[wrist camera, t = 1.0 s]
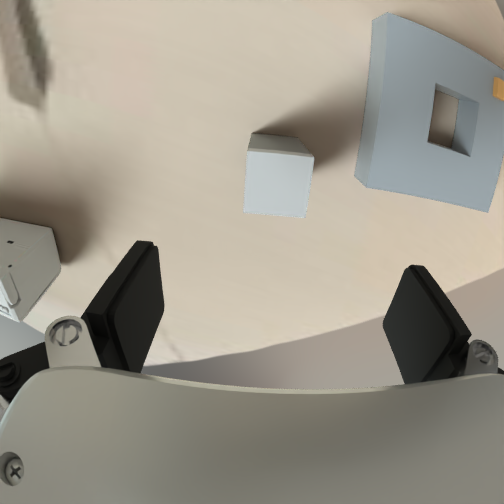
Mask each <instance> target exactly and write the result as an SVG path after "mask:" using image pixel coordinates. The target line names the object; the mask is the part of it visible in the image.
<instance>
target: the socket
mask: <svg viewBox="0 0 504 504" xmlns="http://www.w3.org/2000/svg"><path fill="white" fill-rule="evenodd" d="M435 89H436V90H438V91H441V92H443V93H446V94H448V95H450V96H453V97H455V98H457V99H459V104H458V112H457V119H456V125H455V131H454V137H453V142H452V147H451V148H448V147H445V146H442V145H439V144H436V143H433V142H429V141H428V135H429V129H430V123H431V116H432V109H433V102H434V94H435ZM503 155H504V70H503V69H501V68H500V67H498V66H497V65H495V64H494V63H492V62H491V61H489V60H487V59H486V58H484V57H483V56H481V55H479V54H478V53H476V52H474V51H472V50H471V49H469V48H467V47H465V46H464V45H462V44H460V43H458V42H456V41H454V40H452V39H450V38H448V37H446V36H444V35H442V34H440V33H438V32H436V31H434V30H431V29H429V28H427V27H425V26H422V25H420V24H417V23H415V22H413V21H410V20H407V19H405V18H402V17H399V16H397V15H394V14H391V13H388V12H387V13H385V14H383V15H381V16H379V17H378V18H376V19H374V20H372V39H371V54H370V66H369V77H368V86H367V95H366V103H365V111H364V119H363V126H362V133H361V139H360V145H359V151H358V157H357V163H356V169H355V174H354V176H355V177H356V178H357V179H358V180H359V181H360V182H361V183H362V184H363V185H364V186H365V187H366V188H372V189H378V190H384V191H390V192H396V193H401V194H407V195H412V196H417V197H422V198H427V199H432V200H436V201H441V202H446V203H450V204H454V205H459V206H463V207H467V208H471V209H475V210H479V211H483V212H487V213H488V211H489V208H490V205H491V202H492V198H493V195H494V191H495V188H496V184H497V180H498V176H499V172H500V168H501V164H502V159H503Z"/></svg>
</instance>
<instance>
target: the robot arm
mask: <svg viewBox="0 0 504 504" xmlns="http://www.w3.org/2000/svg"><path fill="white" fill-rule="evenodd" d="M163 313H164V298H163V290H162V281H161V272H160V262H159V252H158V247H157V246H154V244H153V242H150V241H136V242H135V243H134V245H133V246H132V247H131V249H130V250H129V251H128V253H127V254H126V255H125V256H124V258H123V259H122V260H121V262H120V263H119V264H118V266H117V267H116V269H115V270H114V271H113V273H112V274H111V275H110V276H109V277H108V279H107V280H106V281H105V283H104V284H103V286H102V287H101V288H100V290H99V291H98V293H97V294H96V296H95V297H94V298H93V300H92V301H91V303H90V304H89V306H88V307H87V309H86V310H85V312H84V313H83V315H82V316H81V318H79V317H76V316H64V317H61V318H59V319H56V320H55V321H54V322H52V323H51V324H50V325H49V326H48V328H47V330H46V332H45V342H43V343H40V344H37V345H35V346H32V347H30V348H27V349H25V350H22V351H19V352H17V353H14V354H12V355H9V356H7V357H4V358H3V359H1V360H0V504H504V371H503V370H502V369H500V368H498V356H497V354H496V352H495V350H494V349H493V348H492V347H491V345H489V344H488V343H487V342H485V341H482V340H473V341H472V342H471V343H470V344H469V343H468V342H467V341H468V339H469V338H470V336H471V335H472V334H471V332H470V331H469V329H468V328H467V326H466V324H465V323H464V321H463V320H462V318H461V317H460V315H459V314H458V312H457V311H456V309H455V308H454V306H453V305H452V303H451V302H450V300H449V299H448V298H447V296H446V295H445V293H444V292H443V291H442V289H441V288H440V286H439V285H438V284H437V282H436V281H435V280H434V278H433V277H432V276H431V274H430V273H429V272H428V270H427V269H426V268H425V267H424V266H420V265H410V266H409V267H408V268H406V269H405V270H404V273H403V275H402V278H401V280H400V283H399V285H398V288H397V290H396V293H395V295H394V297H393V300H392V302H391V304H390V307H389V309H388V311H387V313H386V316H385V318H384V320H383V329H384V331H385V333H386V336H387V338H388V341H389V343H390V346H391V349H392V351H393V353H394V356H395V359H396V361H397V364H398V367H399V369H400V372H401V375H402V378H403V380H404V383H405V384H404V385H395V386H385V387H384V386H383V387H371V388H354V389H320V390H319V389H316V390H306V389H305V390H304V389H299V390H298V389H269V388H251V387H238V386H227V385H217V384H208V383H200V382H192V381H185V380H177V379H171V378H164V377H158V376H152V375H146V374H141V370H142V367H143V365H144V362H145V359H146V357H147V354H148V351H149V349H150V346H151V343H152V341H153V338H154V336H155V333H156V330H157V328H158V325H159V323H160V320H161V318H162V315H163Z"/></svg>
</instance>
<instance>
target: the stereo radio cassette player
mask: <svg viewBox="0 0 504 504" xmlns="http://www.w3.org/2000/svg"><path fill="white" fill-rule="evenodd" d="M60 271H61V264H60V259H59V255H58V251H57V246H56V243H55V239H54V235H53V231H52V228H49V227H44V226H39V225H33V224H28V223H23V222H18V221H13V220H8V219H3V218H0V314H1V315H3V316H6V317H8V318H10V319H12V320H14V321H17V322H21V321H22V320H23V319H24V318H25V317H26V316H27V315H28V314H29V312H30V311H31V310H32V309H33V307H34V306H35V305H36V304H37V302H38V301H39V300H40V299H41V297H42V296H43V295H44V294H45V292H46V291H47V290H48V288H49V287H50V286H51V285H52V283H53V282H54V281H55V279H56V278H57V277H58V275H59V274H60Z"/></svg>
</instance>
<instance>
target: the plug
mask: <svg viewBox="0 0 504 504" xmlns="http://www.w3.org/2000/svg"><path fill="white" fill-rule="evenodd" d="M313 165H314V156H313V155H312V154H311V153H310V152H309V151H308V149H307V148H306V147H305V146H304V145H303V143H302V142H301V141H300V140H299V139H298V138H297V137H289V136H279V135H269V134H256V133H252V134H251V138H250V142H249V146H248V150H247V163H246V178H245V193H244V209H243V213H252V214H265V215H277V216H288V217H299V218H306V212H307V206H308V199H309V193H310V186H311V179H312V172H313Z"/></svg>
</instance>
